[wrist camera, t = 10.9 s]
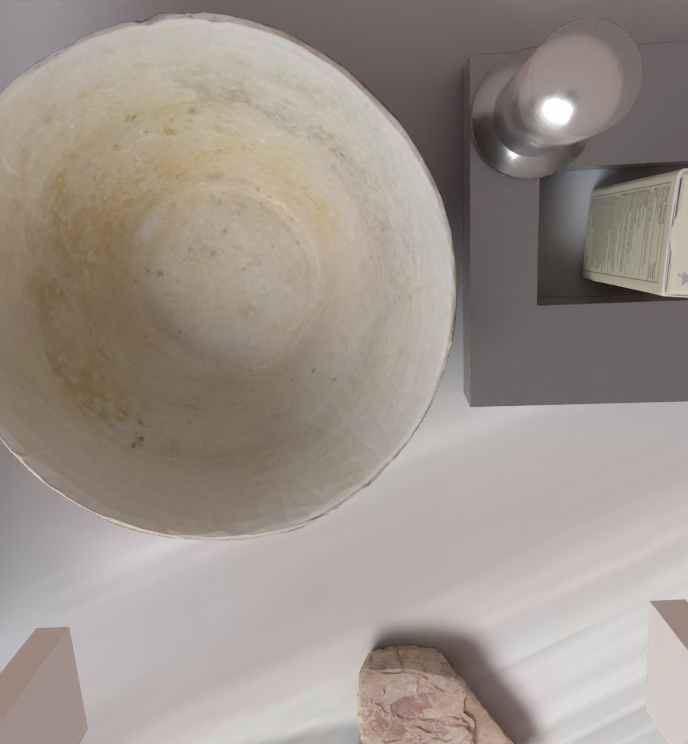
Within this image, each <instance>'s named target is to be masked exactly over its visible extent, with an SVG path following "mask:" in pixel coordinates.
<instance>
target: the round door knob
mask: <svg viewBox="0 0 688 744" xmlns="http://www.w3.org/2000/svg"><path fill="white" fill-rule="evenodd" d="M641 81H642V61H641V57H640V53H639V50H638V48H637V46H636V44H635V42H634V40H633V39H632V38H631V36H630V35H629V34H628V33H627V32H626V31H625V30H624V29H623V28H621V27H620V26H618V25H617V24H615V23H613V22H611V21H608V20H605V19H601V18H582V19H578V20H574V21H571V22H569V23H567V24H565V25H563V26H561V27H560V28H558V29H557V30H556V31H554V32H553V33H552V34H551V35H550V36H549V37H548V38H547V39H546V40H545V41H544V42H543V43H542V44H541V46H540V47H533V48H527V49H523V50H519V51H517V52H515V53H512V54H510V55H509V56H507V57H505V58H504V59H502V60H501V61H500V62H498V63H497V64H496V65H495V66H494V67H493V68H492V69H491V70H490V71H489V73H488V74H487V75H486V76H485V78H484V79H483V81H482V82H481V84H480V86H479V87H478V89H477V92H476V94H475V96H474V100H473V103H472V108H471V115H470V125H471V132H472V137H473V140H474V143H475V145H476V147H477V149H478V151H479V153H480V154H481V156H482V157H483V159H484V160H485V161H486V162H487V163H488V164H489V165H490V166H491V167H493V168H494V169H495V170H497V171H498V172H500V173H502V174H504V175H507V176H510V177H513V178H518V179H535V178H541V177H545V176H548V175H551V174H554V173H556V172H558V171H560V170H562V169H564V168H565V167H567V166H568V165H569V164H571V163H572V162H573V161H574V160H575V159H576V158H577V157H578V156H579V155H580V154H581V153H582V152H583V150H584V149H585V147H586V146H587V144H588V142H589V140H590V138H591V136H593V135H595V134H598V133H600V132H603V131H605V130H607V129H609V128H611V127H612V126H614V125H615V124H616V123H618V122H619V121H620V120H621V119H622V118H623V117H624V116H625V115H626V114H627V113H628V111H629V110H630V109H631V107H632V106H633V104H634V102H635V100H636V98H637V96H638V93H639V90H640V86H641Z"/></svg>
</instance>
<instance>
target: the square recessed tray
mask: <svg viewBox="0 0 688 744" xmlns="http://www.w3.org/2000/svg"><path fill="white" fill-rule="evenodd" d="M636 46H637V48H638V50H639V53H640V57H641V61H642V81H641V86H640V90H639V93H638V96H637V98H636V100H635V102H634V104H633V106H632V107H631V109H630V110H629V111H628V113H627V114H626V115H625V116H624V117H623V118H622V119H621V120H620V121H619V122H618V123H616V124H615V125H614V126H612V127H611V128H609V129H607V130H605V131H603V132H600V133H598V134H595V135H593V136H591V138H590V140H589V142H588V144H587V146H586V147H585V149H584V150H583V152H582V153H581V154H580V155H579V156H578V157H577V158H576V159H575V160H574V161H573V162H572V163H571V164H569V165H568V166H567V167H565V168H564V169H562V170H560V171H569V170H589V169H609V168H628V167H648V166H668V165H687V164H688V42H672V43H656V44H640V45H636ZM514 53H515V52H514ZM510 54H512V53H499V54H483V55H470V57H469V58H468V60H467V62H466V64H465V66H464V68H463V258H464V394H465V396H466V398H467V401H468V403H469V405H470V407H485V406H523V405H562V404H600V403H639V402H677V401H688V298H686V297H671V296H661V295H657V294H648V295H622V296H595V297H568V298H541V299H537V276H538V232H539V188H540V178H535V179H518V178H513V177H510V176H507V175H504V174H502V173H500V172H498V171H497V170H495V169H494V168H493V167H491V166H490V165H489V164H488V163H487V162H486V161H485V160H484V159H483V157H482V156H481V154H480V153H479V151H478V149H477V147H476V145H475V143H474V140H473V137H472V132H471V125H470V115H471V108H472V103H473V100H474V96H475V94H476V92H477V89H478V87H479V86H480V84H481V82H482V81H483V79H484V78H485V76H486V75H487V74H488V73H489V71H490V70H491V69H492V68H493V67H494V66H495V65H496V64H497V63H498V62H500V61H501V60H502V59H504V58H505V57H507V56H509V55H510Z"/></svg>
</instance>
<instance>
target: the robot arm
mask: <svg viewBox="0 0 688 744" xmlns="http://www.w3.org/2000/svg"><path fill="white" fill-rule="evenodd" d="M645 708H646V710H647V712H648V713H649V715H650V717H651V718H652V720H653V722H654V724H655V725H656V727H657V729H658V730H659V732H660V734H661V735H662V737H663V739H664V741H665V742H666V744H688V602H687V601H686V600H663V601H650V609H649V631H648V653H647V676H646V698H645ZM87 729H88V728H87V722H86V717H85V711H84V706H83V700H82V695H81V689H80V684H79V678H78V673H77V667H76V662H75V656H74V651H73V646H72V640H71V635H70V629H69V627H57V628H36V630H35V631H34V632H33V633H32V635H31V636H30V637H29V638H28V640H27V641H26V642H25V643H24V645H23V646H22V647H21V648H20V650H19V651H18V652H17V653H16V655H15V656H14V657H13V658H12V660H11V661H10V662H9V663H8V665H7V666H6V667H5V668H4V670H3V671H2V672H1V673H0V744H80V742H81V740H82V739H83V737H84V735H85V733H86V731H87Z"/></svg>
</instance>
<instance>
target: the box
mask: <svg viewBox="0 0 688 744" xmlns="http://www.w3.org/2000/svg"><path fill="white" fill-rule="evenodd" d="M582 277H583V278H584V279H588V280H592V281H597V282H603V283H607V284H613V285H617V286H621V287H626V288H630V289H635V290H640V291H644V292H649V293H653V294H657V295H661V296H671V297H686V298H688V168H683V169H679V170H676V171H672V172H668V173H663V174H659V175H654V176H650V177H645V178H641V179H637V180H633V181H628V182H624V183H619V184H614V185H609V186H605V187H600V188H596V189H594V190H593V191H592V194H591V200H590V207H589V214H588V221H587V231H586V240H585V249H584V260H583V273H582Z"/></svg>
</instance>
